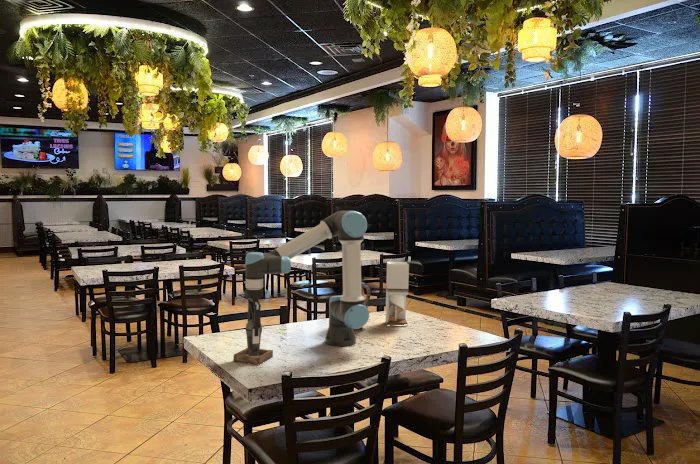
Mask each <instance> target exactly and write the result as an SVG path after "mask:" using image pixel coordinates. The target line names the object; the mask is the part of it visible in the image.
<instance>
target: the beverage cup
mask: <svg viewBox="0 0 700 464" xmlns="http://www.w3.org/2000/svg"><path fill="white" fill-rule="evenodd" d="M252 327H253V319H251V320H250V321H247V322H246V325H245V333H246V343H247V344H246V345H247V346H246V347H247V348H248V355H249V356H258V355H259V350H260V349H261V339H262V333H263V332H262V331H263V325H262V324H261V328H259V343H258V344H253V329H252Z"/></svg>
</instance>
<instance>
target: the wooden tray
mask: <svg viewBox="0 0 700 464" xmlns="http://www.w3.org/2000/svg"><path fill="white" fill-rule="evenodd" d="M273 354H274V350H273V349H265V348H260V350H259V355H258V356H249V355H248V347H246V348H244V349H242V350H240V351H239V352H238V351H237V352H236V353H233V361H232V362H234V363H239V362H240V363H241V364H248V363H250V364H249V365H256V364H259V365H258V366H260V364H261V365H262V364H264V363H266V362H267V361H268V360H270V359H272V358H274V355H273ZM265 361H266V362H265ZM263 362H264V363H263Z"/></svg>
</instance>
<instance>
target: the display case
mask: <svg viewBox="0 0 700 464" xmlns="http://www.w3.org/2000/svg"><path fill="white" fill-rule="evenodd" d="M409 271H410V264H409V263H408V262H407V261H386V281H385V282H386V285H385V286H386V288H385V291H386V292H385V324H387V325H404V324H407V325H408V321H407V319H406V318H407V317H406V314H407V313H406V312H407V309H406V308H407V296H408V295H409V283H410V282H409V279H410V277H409V276H410V275H409V273H410V272H409ZM387 325H386V326H387Z"/></svg>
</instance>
